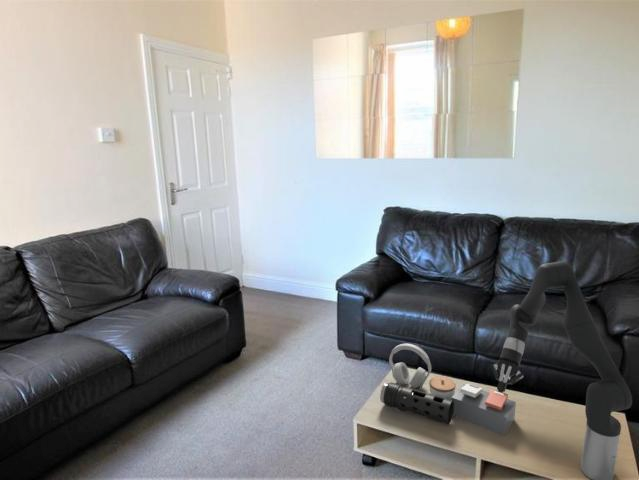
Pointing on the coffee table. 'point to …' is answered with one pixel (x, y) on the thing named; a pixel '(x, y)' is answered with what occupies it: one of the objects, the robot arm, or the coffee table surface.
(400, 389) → the muzzle brake
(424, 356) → the headphones
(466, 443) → the coffee table surface
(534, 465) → the coffee table surface
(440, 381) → the lidded jar
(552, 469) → the coffee table surface
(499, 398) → the labelled salmon box
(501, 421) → the switch box
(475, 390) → the white block
